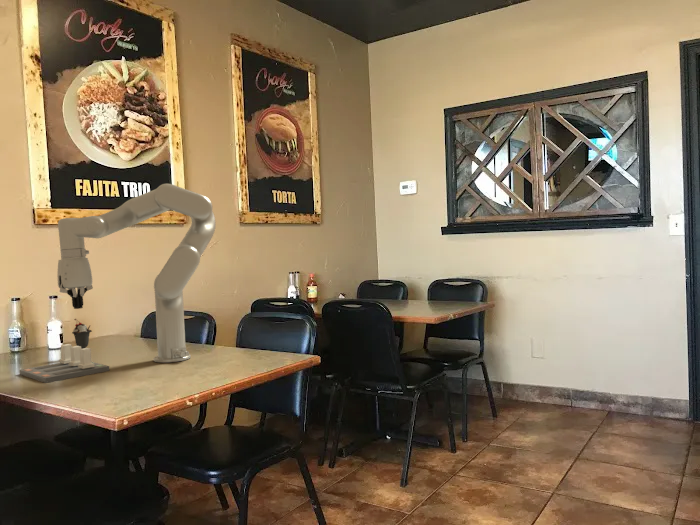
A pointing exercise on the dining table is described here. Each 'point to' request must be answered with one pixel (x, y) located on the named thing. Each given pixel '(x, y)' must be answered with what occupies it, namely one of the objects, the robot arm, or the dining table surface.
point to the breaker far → (65, 353)
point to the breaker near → (85, 358)
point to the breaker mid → (75, 355)
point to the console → (60, 371)
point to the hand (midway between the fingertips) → (78, 308)
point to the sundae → (81, 335)
